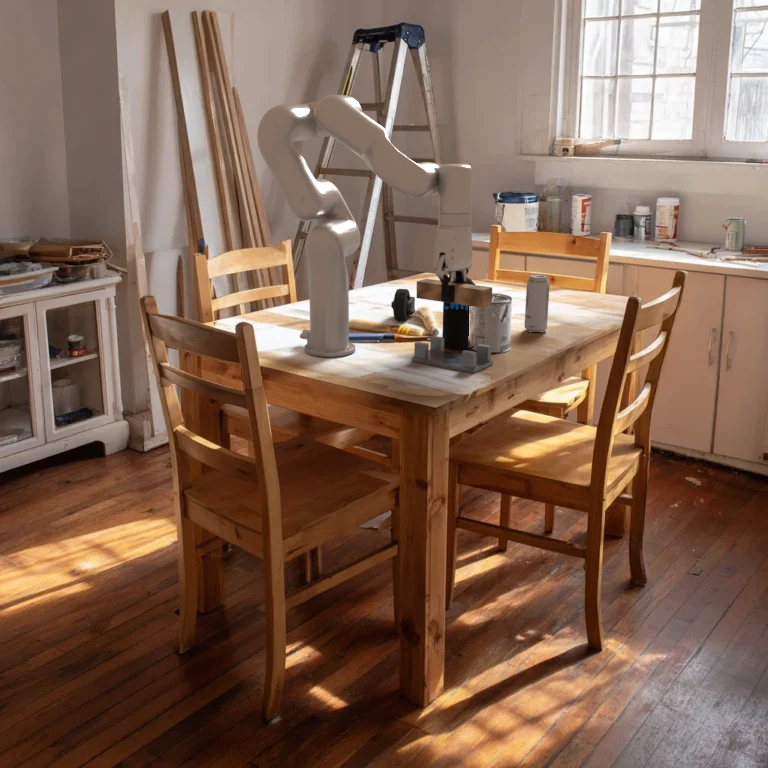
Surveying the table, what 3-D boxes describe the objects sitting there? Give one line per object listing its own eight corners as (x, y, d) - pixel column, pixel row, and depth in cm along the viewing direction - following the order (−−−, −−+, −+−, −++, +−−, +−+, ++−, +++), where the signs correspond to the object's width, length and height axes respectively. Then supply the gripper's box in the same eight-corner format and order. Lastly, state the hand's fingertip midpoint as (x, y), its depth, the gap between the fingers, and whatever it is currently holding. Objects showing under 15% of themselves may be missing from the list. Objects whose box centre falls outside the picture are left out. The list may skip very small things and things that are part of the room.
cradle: (412, 361, 215) (412, 342, 213) (432, 352, 222) (432, 335, 220) (473, 373, 205) (474, 354, 204) (493, 364, 212) (493, 346, 211)
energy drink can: (523, 327, 247) (526, 273, 242) (545, 328, 246) (549, 274, 242) (524, 333, 241) (527, 278, 236) (547, 333, 240) (551, 278, 236)
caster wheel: (408, 328, 250) (418, 311, 263) (408, 294, 246) (418, 279, 260) (388, 327, 251) (399, 310, 265) (388, 293, 247) (399, 278, 261)
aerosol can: (448, 340, 233) (450, 263, 227) (478, 344, 230) (481, 266, 224) (436, 347, 226) (437, 269, 220) (466, 351, 223) (469, 271, 217)
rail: (416, 298, 212) (416, 281, 211) (425, 295, 215) (426, 278, 214) (482, 307, 202) (483, 290, 201) (491, 304, 205) (492, 287, 204)
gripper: (460, 215, 212) (458, 292, 217) (420, 223, 199) (419, 304, 204) (487, 217, 207) (485, 295, 213) (449, 225, 195) (447, 308, 200)
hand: (453, 299), depth 209 cm, fingers closed on rail, 4 cm apart
